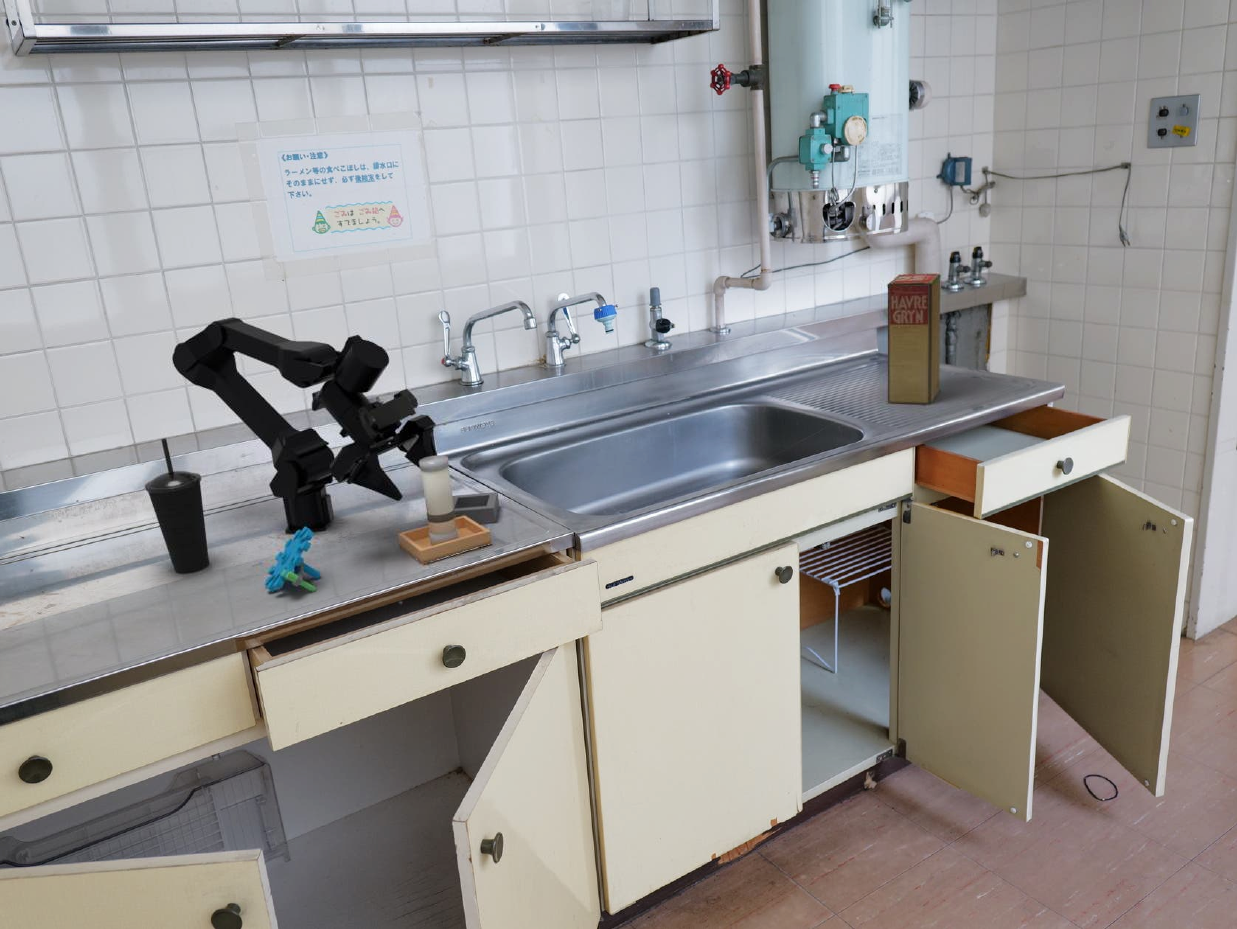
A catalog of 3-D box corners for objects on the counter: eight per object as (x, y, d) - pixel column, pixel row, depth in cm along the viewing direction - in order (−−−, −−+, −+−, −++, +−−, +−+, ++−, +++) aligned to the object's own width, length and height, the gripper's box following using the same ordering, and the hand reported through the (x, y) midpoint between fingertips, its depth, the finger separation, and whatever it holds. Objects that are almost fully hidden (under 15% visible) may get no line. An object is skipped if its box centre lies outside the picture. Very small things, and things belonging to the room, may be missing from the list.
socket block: (447, 526, 157) (445, 511, 156) (453, 510, 164) (451, 495, 163) (495, 522, 157) (493, 507, 156) (499, 506, 164) (497, 492, 163)
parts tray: (422, 565, 143) (420, 550, 142) (399, 547, 150) (397, 533, 149) (491, 544, 148) (489, 531, 147) (466, 528, 155) (464, 515, 155)
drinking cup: (185, 581, 144) (155, 449, 138) (153, 572, 148) (123, 444, 142) (230, 561, 150) (203, 434, 144) (198, 553, 154) (170, 429, 148)
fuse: (425, 546, 148) (413, 463, 144) (441, 535, 151) (429, 454, 148) (448, 548, 146) (437, 465, 142) (464, 538, 150) (453, 456, 146)
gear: (263, 563, 143) (305, 512, 142) (298, 583, 146) (339, 533, 145) (258, 603, 134) (303, 549, 132) (296, 624, 136) (341, 571, 135)
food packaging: (896, 388, 218) (897, 273, 211) (941, 389, 214) (944, 272, 207) (885, 403, 207) (886, 282, 199) (932, 405, 203) (934, 282, 195)
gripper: (332, 392, 137) (405, 475, 136) (418, 363, 153) (484, 437, 151) (300, 442, 143) (369, 522, 142) (386, 409, 159) (449, 481, 157)
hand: (420, 488), depth 148 cm, fingers open, 9 cm apart
